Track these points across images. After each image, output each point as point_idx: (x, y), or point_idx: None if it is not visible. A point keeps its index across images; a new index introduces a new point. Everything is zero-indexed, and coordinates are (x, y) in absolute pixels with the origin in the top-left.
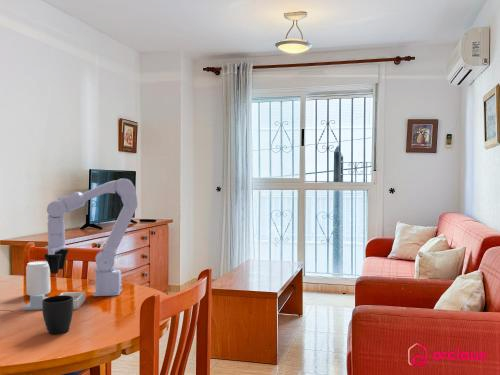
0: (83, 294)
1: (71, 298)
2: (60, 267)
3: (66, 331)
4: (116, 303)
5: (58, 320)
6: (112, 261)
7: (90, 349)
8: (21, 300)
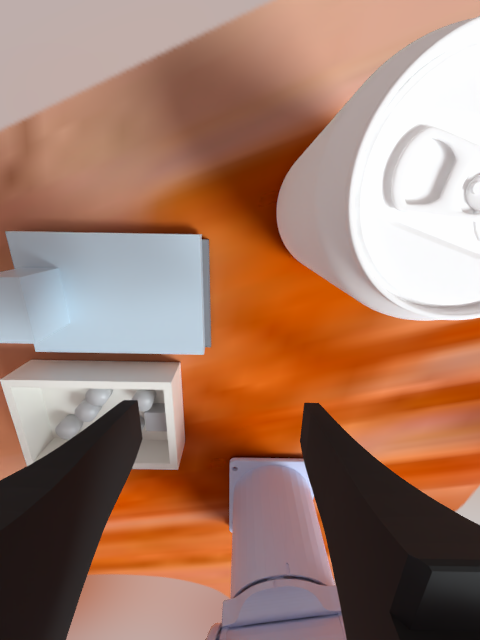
0: (143, 466)
1: None
2: (305, 435)
3: None
4: (130, 530)
5: None
6: None
7: None
8: (219, 147)
